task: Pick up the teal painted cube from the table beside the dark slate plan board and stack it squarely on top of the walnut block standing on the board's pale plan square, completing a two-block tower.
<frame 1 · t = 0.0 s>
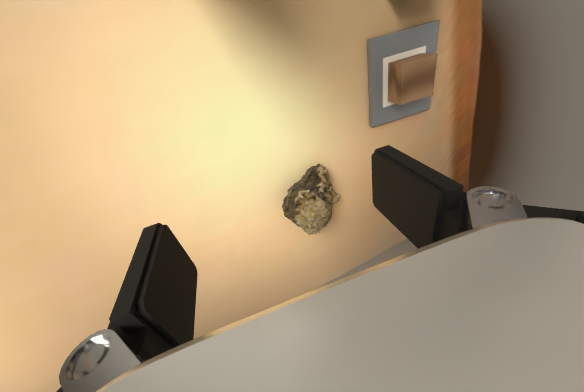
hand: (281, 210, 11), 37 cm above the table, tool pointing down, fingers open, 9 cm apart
blueprint board: (400, 77, 48), on the table
mineral specimen: (309, 194, 57), on the table
walnut block: (403, 78, 47), point 1 cm above the table, touching blueprint board
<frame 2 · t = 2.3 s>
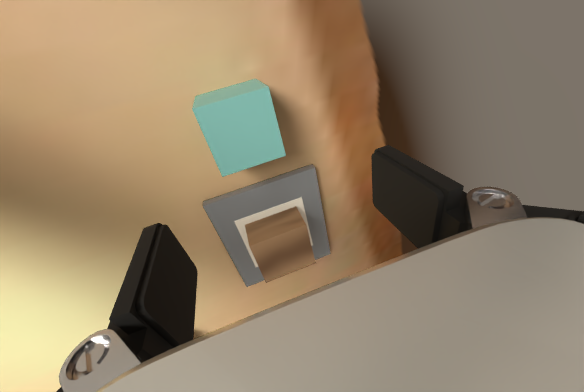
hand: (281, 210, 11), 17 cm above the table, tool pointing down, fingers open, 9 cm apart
teal block: (236, 117, 25), on the table
blueprint board: (275, 229, 34), on the table
walnut block: (277, 234, 33), point 1 cm above the table, touching blueprint board
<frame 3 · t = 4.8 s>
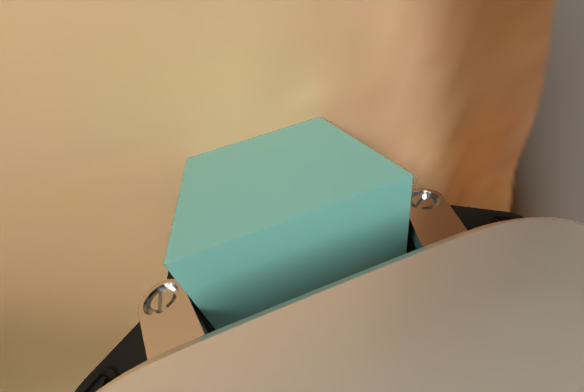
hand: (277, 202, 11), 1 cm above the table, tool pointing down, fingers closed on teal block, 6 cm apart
teal block: (273, 192, 12), on the table, touching gripper
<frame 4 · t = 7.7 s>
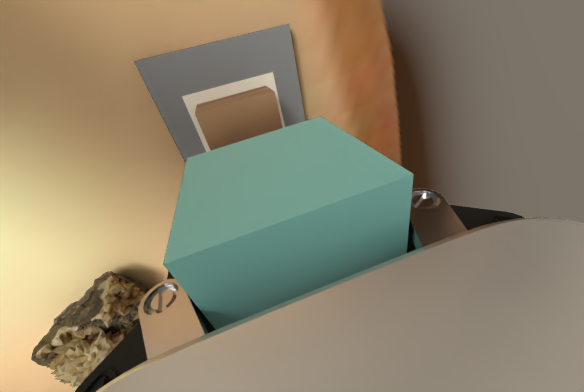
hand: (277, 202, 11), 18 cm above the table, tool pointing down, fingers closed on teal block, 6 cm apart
teal block: (273, 192, 12), point 17 cm above the table, touching gripper
blueprint board: (241, 126, 27), on the table
mineral specimen: (133, 301, 35), on the table
walnut block: (243, 128, 26), point 1 cm above the table, touching blueprint board
when the fingers open (7 cm above the table, at t = 10.7 s): teal block drops 1 cm, resting on walnut block.
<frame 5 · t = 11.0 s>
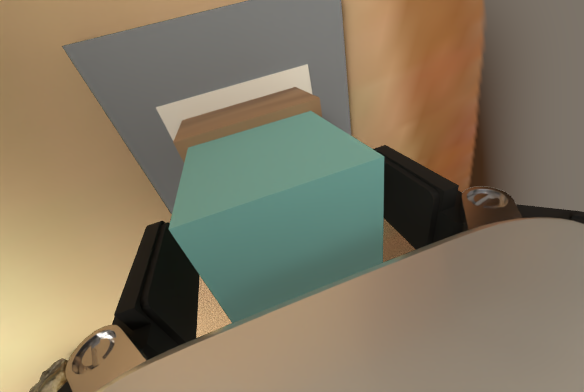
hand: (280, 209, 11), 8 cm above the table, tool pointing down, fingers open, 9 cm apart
teal block: (268, 182, 13), point 5 cm above the table, touching walnut block
blueprint board: (255, 149, 17), on the table
mineral specimen: (107, 380, 26), on the table
walnut block: (257, 155, 16), point 1 cm above the table, touching blueprint board, teal block
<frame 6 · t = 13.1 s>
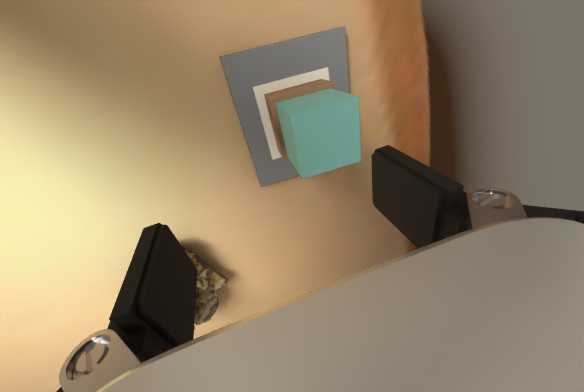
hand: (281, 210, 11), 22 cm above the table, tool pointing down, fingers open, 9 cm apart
teal block: (308, 124, 26), point 5 cm above the table, touching walnut block
blueprint board: (296, 114, 31), on the table
mineral specimen: (186, 273, 39), on the table
walnut block: (298, 116, 30), point 1 cm above the table, touching blueprint board, teal block
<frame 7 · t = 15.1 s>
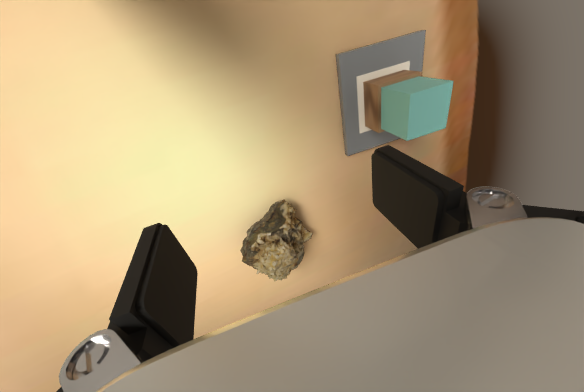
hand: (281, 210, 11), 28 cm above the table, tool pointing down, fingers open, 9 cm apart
teal block: (399, 103, 36), point 5 cm above the table, touching walnut block
blueprint board: (379, 97, 40), on the table
mineral specimen: (277, 230, 49), on the table
walnut block: (383, 99, 39), point 1 cm above the table, touching blueprint board, teal block
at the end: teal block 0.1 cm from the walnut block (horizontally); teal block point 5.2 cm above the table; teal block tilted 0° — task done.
